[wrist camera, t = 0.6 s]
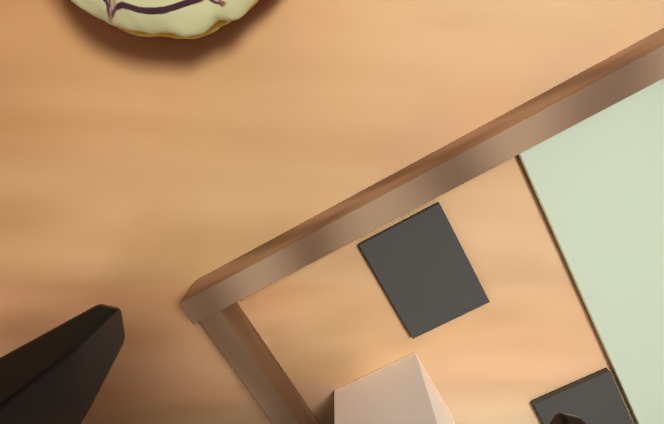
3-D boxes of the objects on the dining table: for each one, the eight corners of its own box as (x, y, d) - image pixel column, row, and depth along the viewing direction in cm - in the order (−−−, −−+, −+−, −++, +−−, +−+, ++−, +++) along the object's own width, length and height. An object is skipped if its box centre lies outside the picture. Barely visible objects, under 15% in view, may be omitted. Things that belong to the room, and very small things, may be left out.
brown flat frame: (401, 574, 28) (408, 619, 26) (195, 281, 23) (179, 304, 20) (813, 408, 25) (864, 443, 23) (691, 13, 19) (743, 2, 17)
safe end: (650, 454, 26) (654, 458, 25) (512, 142, 21) (515, 143, 20) (785, 399, 25) (791, 403, 24) (674, 56, 20) (679, 56, 19)
